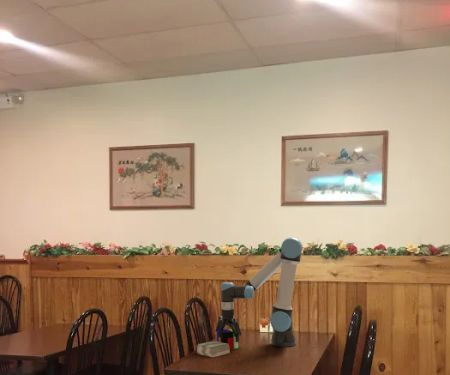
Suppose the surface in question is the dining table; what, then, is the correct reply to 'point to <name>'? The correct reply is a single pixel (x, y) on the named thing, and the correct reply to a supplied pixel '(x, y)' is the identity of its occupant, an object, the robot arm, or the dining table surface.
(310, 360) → the dining table surface
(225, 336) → the puzzle toy
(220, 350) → the plinth
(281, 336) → the robot arm
